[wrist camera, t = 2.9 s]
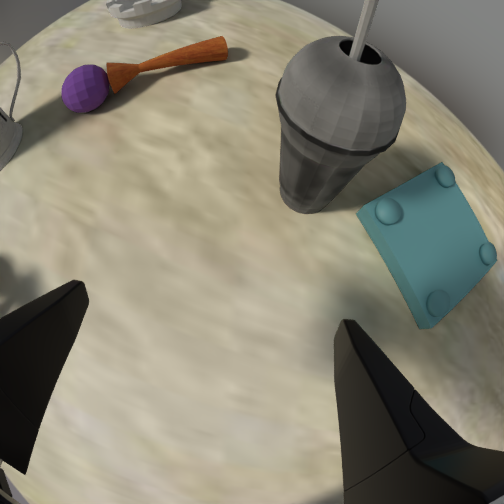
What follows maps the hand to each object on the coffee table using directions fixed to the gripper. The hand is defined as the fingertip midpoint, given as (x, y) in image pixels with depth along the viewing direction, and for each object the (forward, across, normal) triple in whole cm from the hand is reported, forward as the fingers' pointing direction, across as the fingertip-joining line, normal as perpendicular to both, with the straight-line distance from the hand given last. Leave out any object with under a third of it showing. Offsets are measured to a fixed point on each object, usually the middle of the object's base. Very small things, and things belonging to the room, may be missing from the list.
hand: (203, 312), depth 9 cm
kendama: (+28, +14, -8) cm, 32 cm away
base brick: (+16, -18, +3) cm, 24 cm away
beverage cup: (+18, -5, +1) cm, 19 cm away
